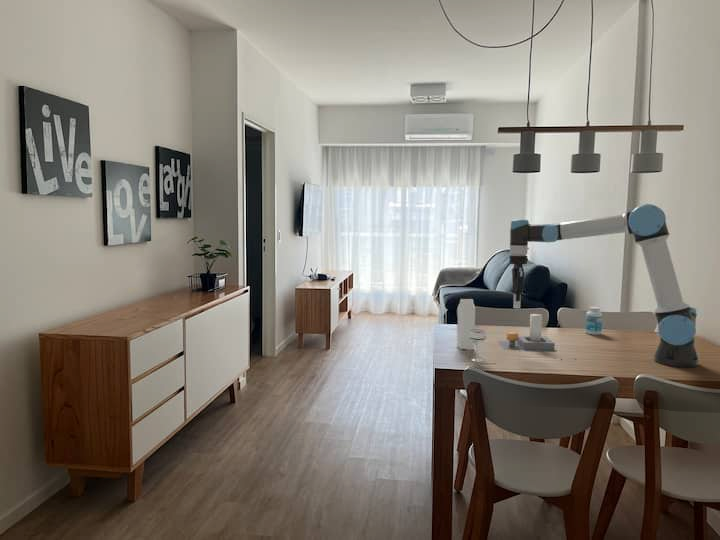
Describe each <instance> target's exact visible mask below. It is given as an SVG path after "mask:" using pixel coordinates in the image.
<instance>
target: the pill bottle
mask: <svg viewBox="0 0 720 540" xmlns="http://www.w3.org/2000/svg"><path fill="white" fill-rule="evenodd" d="M600 310H601V308H600V307H599V306H590V307H589V310H588V311H586V315H585V329H584V330H585V333H586V334H588V335H593V336H599V335H601V334H602V327H603V313H602V312H601V311H600Z"/></svg>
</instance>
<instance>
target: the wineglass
mask: <svg viewBox="0 0 720 540" xmlns="http://www.w3.org/2000/svg"><path fill="white" fill-rule="evenodd" d="M469 331H470V334H469V338H470V340H471V341H472V342H473V343H474V345H476V347H475V348H476V349H475V350H476V351H475V353H476V355H475V358H471V359H470V361H471V362H474V363H481V362H483V361H484V359H482V358H478V354H479V353H478V351H479V345H480V344H482V343H484V342H485V341H486V339H487V334H486V333H487V331H486V330H485V329H479V328H478V329H477V328H475V329H472V330H469Z"/></svg>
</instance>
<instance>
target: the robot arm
mask: <svg viewBox="0 0 720 540" xmlns="http://www.w3.org/2000/svg"><path fill="white" fill-rule="evenodd" d="M666 221H667V219H666V214H665V212H664V211H663V210H662V208H660V207H658V206H656V205H654V204H649V203H646V204H642V205H641V204H640V205H639V206H637V207H635V208H634V209H632V210H628V211H627V210H626V211H625V213H623V214H616V215H609V216H601V217H600V216H599V217H594V218H587V219H581V220H580V219H579V220H573V221H565V222H560V223H559V222H558V223H557V222H556V223H550V224H549V223H548V224H547V223H546V224H545V223H544V224H530V223H529V220H528V219H512V220H511V222H510V230H509V231H510V233H509V234H510V235H509V236H510V237H509V240H510V242H509V260H508V261H509V264H510V265H513V267H512V269H511V276H512V277H511V278H512V291H513V292H512V293H513V306H512V307H513V309H521V301H522V295H521V294H522V293H523V287H524V279H525V272H524V266H523V265H527V264H528V250H530V249H529V247H528V246H529V242H531V243H532V242H535V243H536V242H537V243H556V242H557V241H562V240H571V239H579V238H580V239H581V238H588V237H598V236H599V237H600V236H605V235H614V234H615V235H616V234H623V233H627V234H628V235H632V236H633V239H634V241H635V244H636V245H639V246H640V247H641V251H642V255H643V257H644V263H645V265H646V269H647V272H648V277H649V279H650V283H651V287H652V291H653V295H654V297H655V301H656V304H657V308H656V309H655V310H654V314H655V319H656V322H657V326H658V327H657V331H658V335H659V336H660V342H659V344H658V346H657V349H656V350H655V353H654V355H653V360H654V362H657V363H659V364H662V365H665V366H666V365H667V366H671V367H679V368H695V367H697V366H699V359H698V354H697V351H696V347H695V338H696V333H697V328H696V321H697V315H698V314H697V309H696V308H695V307H692V306H690V305H689V304H688V303H686V302H684V300H683V296H682V292H681V288H680V285H679V282H678V278H677V275H676V272H675V267H674V263H673V259H672V257H671V253H670V250H669V246H668V242H667V240H668V238H669V237H670V232H669V229H668V225H667V222H666Z"/></svg>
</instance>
